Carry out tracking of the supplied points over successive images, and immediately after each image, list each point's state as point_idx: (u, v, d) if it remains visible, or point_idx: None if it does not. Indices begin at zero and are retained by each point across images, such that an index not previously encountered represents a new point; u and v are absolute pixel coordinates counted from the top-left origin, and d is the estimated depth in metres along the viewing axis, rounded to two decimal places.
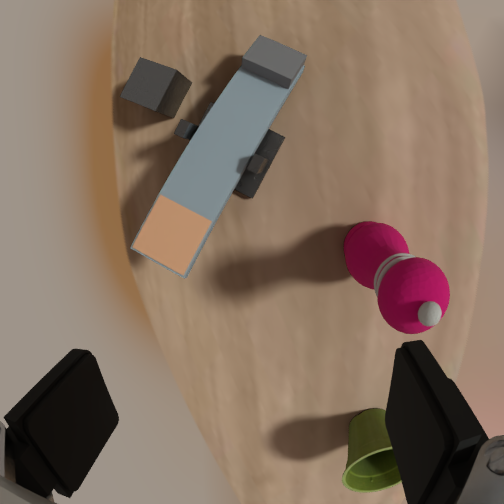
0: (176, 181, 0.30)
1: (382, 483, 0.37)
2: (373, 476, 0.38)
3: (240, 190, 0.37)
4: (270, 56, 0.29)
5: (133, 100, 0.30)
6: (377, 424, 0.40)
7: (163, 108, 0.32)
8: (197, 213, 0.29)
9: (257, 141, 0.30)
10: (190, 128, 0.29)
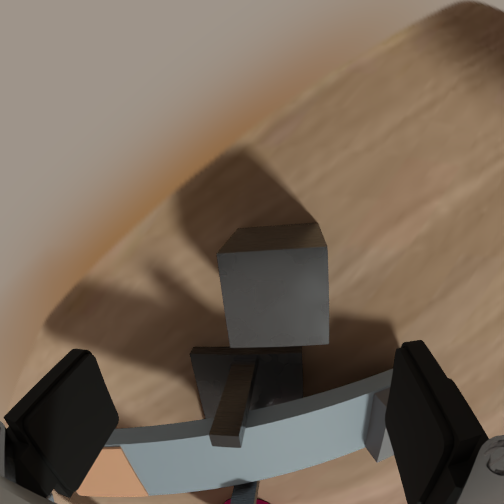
0: (152, 452, 0.16)
1: None
2: None
3: None
4: None
5: (225, 292, 0.15)
6: None
7: None
8: (142, 484, 0.16)
9: (273, 475, 0.18)
10: None
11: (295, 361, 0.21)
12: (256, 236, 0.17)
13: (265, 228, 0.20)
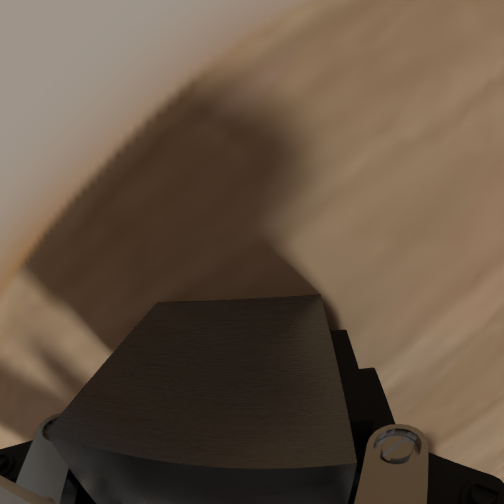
0: None
1: None
2: None
3: None
4: None
5: (94, 495, 0.04)
6: None
7: None
8: None
9: None
10: None
11: None
12: (171, 352, 0.07)
13: (205, 311, 0.09)
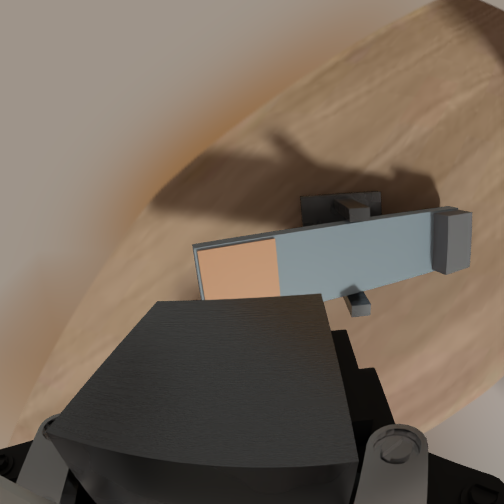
0: (298, 244, 0.24)
1: None
2: None
3: None
4: (458, 239, 0.26)
5: (93, 494, 0.04)
6: None
7: None
8: (280, 290, 0.24)
9: (376, 285, 0.27)
10: None
11: (376, 199, 0.30)
12: (171, 350, 0.07)
13: (206, 310, 0.09)
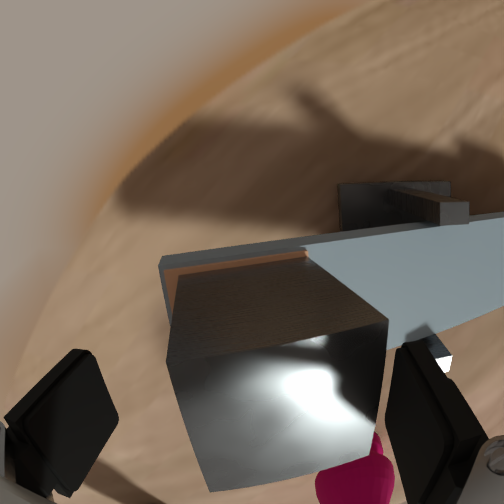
0: (347, 260, 0.13)
1: None
2: None
3: None
4: None
5: (192, 425, 0.07)
6: None
7: None
8: None
9: (454, 324, 0.15)
10: None
11: (445, 192, 0.18)
12: (224, 297, 0.09)
13: (227, 274, 0.11)
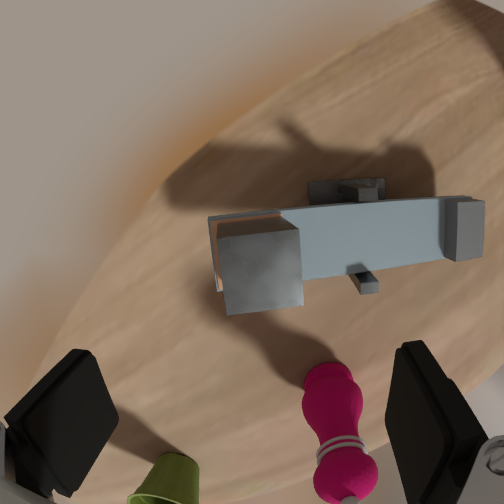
0: (304, 220, 0.26)
1: None
2: None
3: None
4: (469, 227, 0.25)
5: (222, 268, 0.20)
6: (189, 478, 0.39)
7: None
8: None
9: (383, 267, 0.27)
10: None
11: (380, 185, 0.31)
12: (238, 227, 0.22)
13: (241, 222, 0.24)
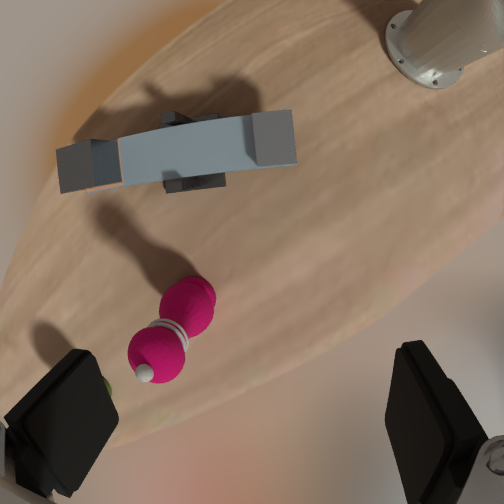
0: (132, 142, 0.34)
1: None
2: None
3: (166, 181, 0.41)
4: (270, 134, 0.31)
5: (58, 166, 0.29)
6: None
7: None
8: (121, 172, 0.35)
9: (194, 174, 0.35)
10: (172, 121, 0.32)
11: (214, 118, 0.38)
12: None
13: None
